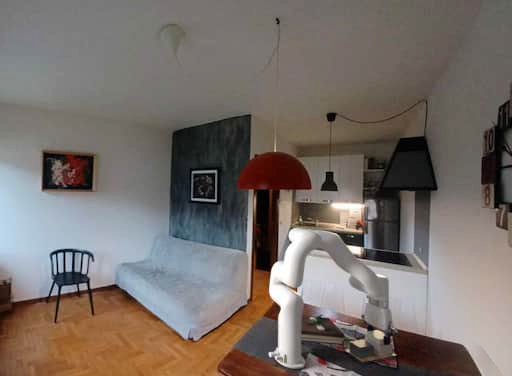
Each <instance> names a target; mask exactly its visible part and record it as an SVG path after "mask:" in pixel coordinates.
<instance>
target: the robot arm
mask: <svg viewBox="0 0 512 376" xmlns="http://www.w3.org/2000/svg"><path fill="white" fill-rule="evenodd" d="M288 239H289V241H290V242H291V243H290V244H289V245H288V247H287V248H286V249H285V252H284V259H283V260H278V261H276V262H275V263H274V264H273V266H272V268H271V271H270V278H269V287H268V290H269V291H268V292H269V296H270V298H271V300H272V301H273V302H275V303H276V304H277V305H278V306H279V307H280V311H279V313H278V317H277V347H275V350H274V351H269V352H268V356H269V358H274V360H275V361H276V362H277V363H279V364H280V365H281V366H283V367H285V368H288V369H291V370H301V369H303V368H304V367H305V366H306V360H305V358H304V357H303V356H302V344H301V342H302V341H301V320H302V316H303V312H304V307H305V302H304V299H303V297H302V296H301V295H300V293H298V292H297V291H296V290H294V289H298V288H300V287H301V286H302V285H303V281H304V274H305V266H306V260H307V257H308V255H309V254H310V253H311V252H313V251H315V250H316V249H318V248H320V249H323V250H324V251H325V252H326V253H327V255H328V256H329V257H330V258H331V260H332V261H333V262H334V263H335V265H336V266H337V267H338V268H339V269H341V270H342V271H344V272H345V273H348V274H349V275H350V276H349V278H348V282H349V285H350V286H351V287H352V288H353V289H354V290H357V291H359V292H362V293H364V294H366V298H367V301H366V303H365V306H364V313H363V314H361V315H360V317H361V318H362V320H363V323H364V324H365V327H366V332H367V331H373V330H375V328H377V329H378V330H380V331H382V332H383V333H384V334H385V336H384V337H383V339H384V345H390V343H391V337H394V336H395V335H397V334H398V333H399V332H398V330H397V328H396V327H395V326H394V324H393V315H392V310H391V307H390V280H389V278H388V277H387V276H385V275H383V274H376V273H375V271H373V269H372V268H370V267H369V266H367V265H366V264H365V263H364V262H363V261H361V260H360V259H359V258H358V257H356V255H354V253H353V252H352V251H351V249H349V246H347V244H346V243H345V242H344V241H343V239H342V238H341V237H340V235H338V234H337V233H334V232H331V231H327V230H322V229H314V228H305V227H298V226H297V227H293V228H291V229H290V231H289V232H288Z"/></svg>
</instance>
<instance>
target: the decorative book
mask: <svg viewBox="0 0 512 376" xmlns="http://www.w3.org/2000/svg"><path fill="white" fill-rule="evenodd" d="M343 341H345V333H344V332H343V331H342V330H341V329H340V328H339V327H338V326H337V325H336V324H335V322H333V320H332V319H330V318H329V317H325V316H324V314H319V315H317V316H311V315H302V320H301V345H306V344H305V343H304V342H306V343H314V344H324V345H335V346H336V345H338V346H345V344H344V342H343Z"/></svg>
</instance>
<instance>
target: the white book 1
mask: <svg viewBox="0 0 512 376" xmlns="http://www.w3.org/2000/svg"><path fill="white" fill-rule="evenodd" d="M384 336H385V334H384V332H383V331H382V330H380V329H374V330H373V331H367V330H366V331H364V338H368V339H370V340H372V341H373V342H375V343H377V344H379V345H381V344H384V339H383V337H384ZM393 340H394V336H391V343H392V344H393V343H394V341H393Z"/></svg>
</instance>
